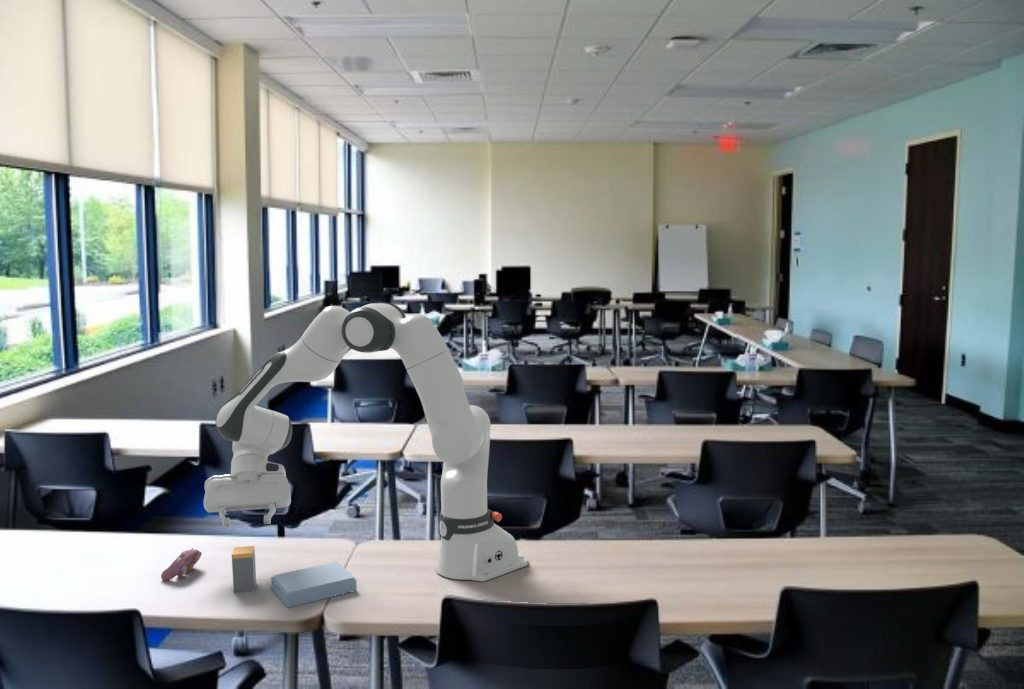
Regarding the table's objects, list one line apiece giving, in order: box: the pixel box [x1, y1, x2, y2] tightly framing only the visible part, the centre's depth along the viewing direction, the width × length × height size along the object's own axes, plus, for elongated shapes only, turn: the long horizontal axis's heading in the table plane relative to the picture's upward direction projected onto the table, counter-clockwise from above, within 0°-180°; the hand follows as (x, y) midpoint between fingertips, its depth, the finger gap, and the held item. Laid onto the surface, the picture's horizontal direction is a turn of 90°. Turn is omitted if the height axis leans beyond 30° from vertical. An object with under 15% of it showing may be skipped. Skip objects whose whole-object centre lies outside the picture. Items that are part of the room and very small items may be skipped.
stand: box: [270, 561, 358, 609], centre depth 190 cm, size 16×12×3 cm
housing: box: [231, 545, 257, 593], centre depth 192 cm, size 4×4×9 cm
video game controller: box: [160, 547, 202, 582], centre depth 200 cm, size 10×5×7 cm, turn 169°
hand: (246, 524), depth 199 cm, fingers open, 8 cm apart
